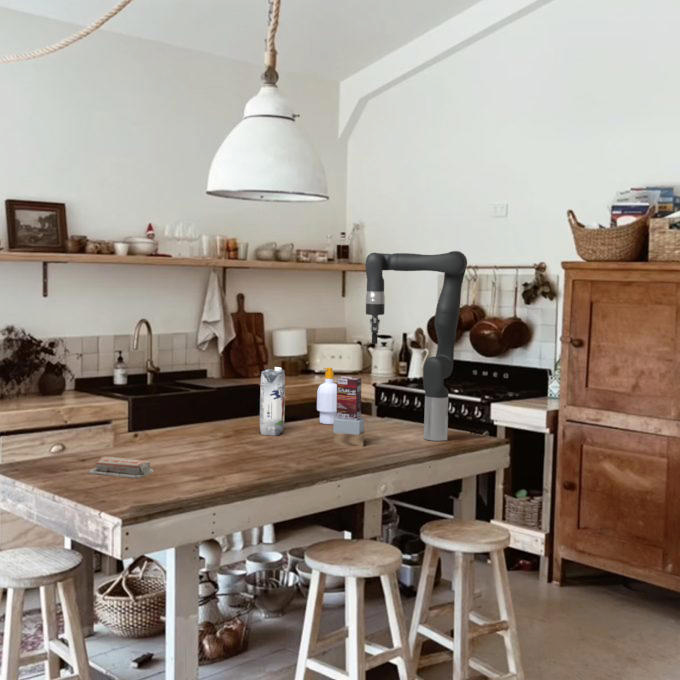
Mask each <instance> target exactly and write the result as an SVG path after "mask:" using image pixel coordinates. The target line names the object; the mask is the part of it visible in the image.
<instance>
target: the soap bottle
mask: <svg viewBox="0 0 680 680" xmlns="http://www.w3.org/2000/svg"><path fill="white" fill-rule="evenodd" d="M322 370H326V371H325V373H324V375H325V377H324V378H325V379H324V382H323V383H321V384H320V385H319V386H318V388H317V392H316V393H317V394H316V410H317V411H318V412H319V423H320V424H321V423H322V424H321V425H334V419H336V417H337V383H334V371H333V367H323V369H322Z"/></svg>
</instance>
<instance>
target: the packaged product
mask: <svg viewBox="0 0 680 680" xmlns="http://www.w3.org/2000/svg"><path fill="white" fill-rule="evenodd" d="M95 466H96V467H95V468H93V469H90V470H88V472H87V473H88V474H90V475H100V476H110V477H115V478H118V477H119V478H128V479H141V478H144V477H146V476H148V475H150V474H153V473H154V470H153V468H151V462H150V461H149V460H143V459H135V458H123V457H115V456H101V458H99V459H98V460H97V461H96V462H95Z"/></svg>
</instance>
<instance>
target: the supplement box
mask: <svg viewBox="0 0 680 680" xmlns="http://www.w3.org/2000/svg"><path fill="white" fill-rule="evenodd" d="M336 384H337V417H336V418H337V419H348V420H358V419H360V418H361V416H362V409H361V408H362V377H354V376H353V377H352V376H344V375H343V376H339V377H337V378H336Z"/></svg>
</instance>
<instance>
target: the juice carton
mask: <svg viewBox="0 0 680 680" xmlns="http://www.w3.org/2000/svg"><path fill="white" fill-rule="evenodd" d="M285 374H286V373H285V369H283V368H282V367H280V366H279V367H278V366H274V369H273V368H272V369H271V368H270V369H267V368H266V369H265V370H262V371H261V374H260V386H259V387H260V389H259V390H260V391H259V392H260V395H259V397H260V398H259V429H260V430H259V431H260V434H261V435H262V436H280V434H282V432H283V431H284V427H285V412H286V411H285V408H286V407H285V405H286V404H285V403H286V401H285V400H286V375H285Z"/></svg>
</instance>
